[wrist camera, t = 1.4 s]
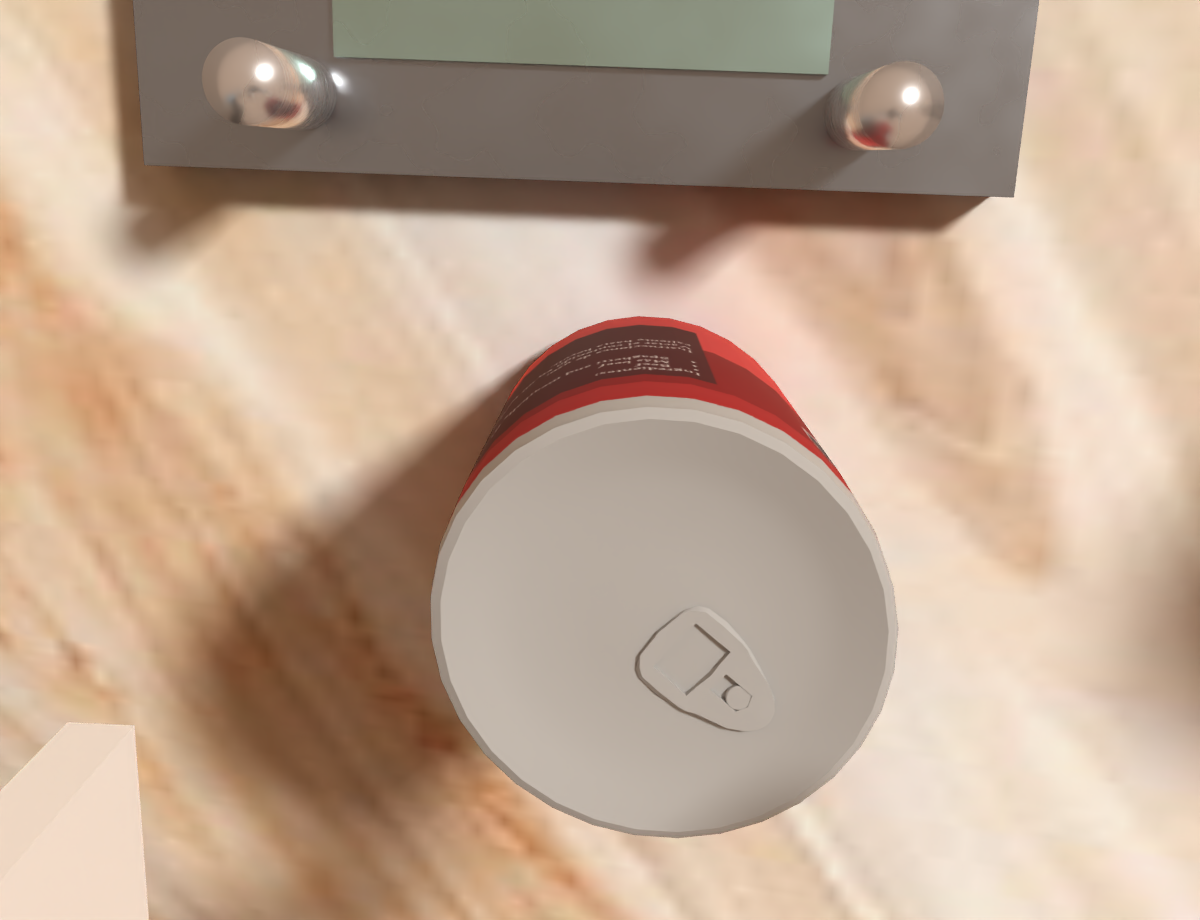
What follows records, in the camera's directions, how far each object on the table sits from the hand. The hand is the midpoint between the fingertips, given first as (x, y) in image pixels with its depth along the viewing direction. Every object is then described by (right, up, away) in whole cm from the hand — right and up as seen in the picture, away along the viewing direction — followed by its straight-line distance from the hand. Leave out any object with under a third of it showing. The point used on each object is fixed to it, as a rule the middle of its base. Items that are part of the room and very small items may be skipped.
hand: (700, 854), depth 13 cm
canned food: (0, +5, +16) cm, 17 cm away
